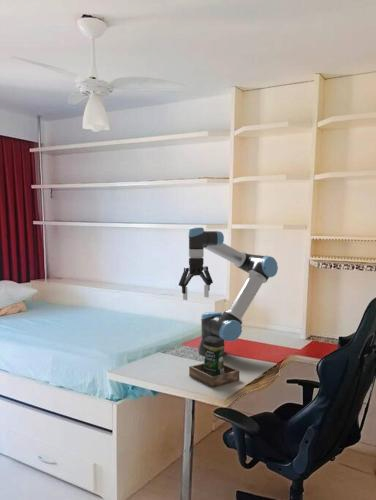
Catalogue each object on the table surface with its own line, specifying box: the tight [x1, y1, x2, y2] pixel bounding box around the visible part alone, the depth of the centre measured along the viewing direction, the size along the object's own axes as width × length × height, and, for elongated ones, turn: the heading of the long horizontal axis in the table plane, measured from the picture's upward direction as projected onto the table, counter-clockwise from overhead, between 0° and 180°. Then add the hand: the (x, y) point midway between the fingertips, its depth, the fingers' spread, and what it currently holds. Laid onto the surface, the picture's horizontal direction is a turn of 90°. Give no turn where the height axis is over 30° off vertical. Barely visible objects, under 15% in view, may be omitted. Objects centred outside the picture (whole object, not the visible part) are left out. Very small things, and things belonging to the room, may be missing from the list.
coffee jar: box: [203, 336, 226, 377], centre depth 192 cm, size 10×8×19 cm
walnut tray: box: [188, 362, 240, 389], centre depth 192 cm, size 16×18×4 cm
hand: (196, 298), depth 209 cm, fingers open, 13 cm apart
